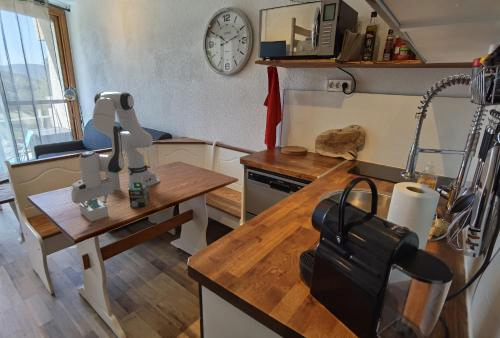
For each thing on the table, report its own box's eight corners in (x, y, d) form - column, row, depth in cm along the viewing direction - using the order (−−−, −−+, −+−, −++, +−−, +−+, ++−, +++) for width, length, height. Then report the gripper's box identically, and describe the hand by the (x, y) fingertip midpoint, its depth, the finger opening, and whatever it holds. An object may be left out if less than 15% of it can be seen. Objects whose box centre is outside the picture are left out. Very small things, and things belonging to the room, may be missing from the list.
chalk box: (150, 201, 168) (148, 179, 164) (145, 207, 160) (143, 184, 155) (135, 201, 168) (133, 179, 163) (129, 207, 159) (127, 184, 155)
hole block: (97, 208, 157) (96, 198, 155) (108, 215, 148) (107, 205, 147) (80, 213, 150) (79, 203, 148) (91, 221, 142) (89, 211, 140)
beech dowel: (93, 211, 153) (91, 195, 150) (96, 212, 151) (93, 196, 148) (88, 212, 151) (85, 196, 148) (90, 214, 149) (87, 198, 146)
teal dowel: (98, 214, 149) (95, 198, 146) (101, 216, 148) (98, 199, 144) (93, 216, 147) (89, 200, 144) (95, 218, 145) (92, 201, 142)
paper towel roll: (105, 189, 183) (101, 160, 177) (113, 187, 188) (110, 158, 182) (112, 192, 180) (108, 161, 174) (120, 189, 185) (117, 159, 179)
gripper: (109, 175, 151) (112, 198, 155) (68, 185, 135) (72, 209, 140) (114, 178, 147) (117, 201, 151) (73, 188, 132) (77, 213, 136)
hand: (95, 205), depth 145 cm, fingers open, 8 cm apart
